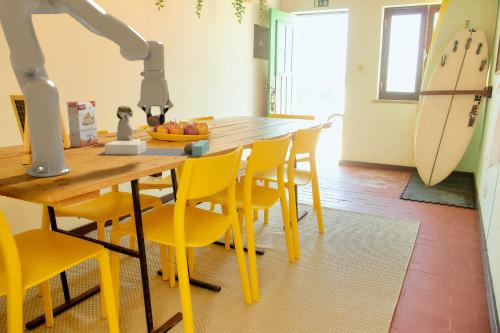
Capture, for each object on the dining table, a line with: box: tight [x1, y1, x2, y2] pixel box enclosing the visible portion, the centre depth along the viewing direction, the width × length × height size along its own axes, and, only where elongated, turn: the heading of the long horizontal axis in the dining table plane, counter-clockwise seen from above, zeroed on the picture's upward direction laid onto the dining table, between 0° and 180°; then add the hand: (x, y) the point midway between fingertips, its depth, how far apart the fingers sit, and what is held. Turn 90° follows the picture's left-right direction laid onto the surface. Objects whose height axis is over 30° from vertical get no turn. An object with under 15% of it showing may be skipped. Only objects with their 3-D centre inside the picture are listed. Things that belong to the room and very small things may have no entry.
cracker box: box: [66, 100, 99, 148], centre depth 183 cm, size 14×6×21 cm, turn 168°
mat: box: [98, 147, 193, 157], centre depth 166 cm, size 16×44×1 cm, turn 85°
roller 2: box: [183, 140, 197, 154], centre depth 164 cm, size 9×4×4 cm, turn 175°
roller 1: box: [146, 114, 161, 128], centre depth 148 cm, size 9×4×4 cm, turn 175°
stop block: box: [191, 139, 210, 157], centre depth 164 cm, size 16×4×4 cm, turn 175°
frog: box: [113, 105, 142, 141], centre depth 189 cm, size 12×13×18 cm
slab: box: [104, 140, 147, 156], centre depth 164 cm, size 10×14×4 cm
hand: (155, 124), depth 148 cm, fingers closed on roller 1, 4 cm apart
